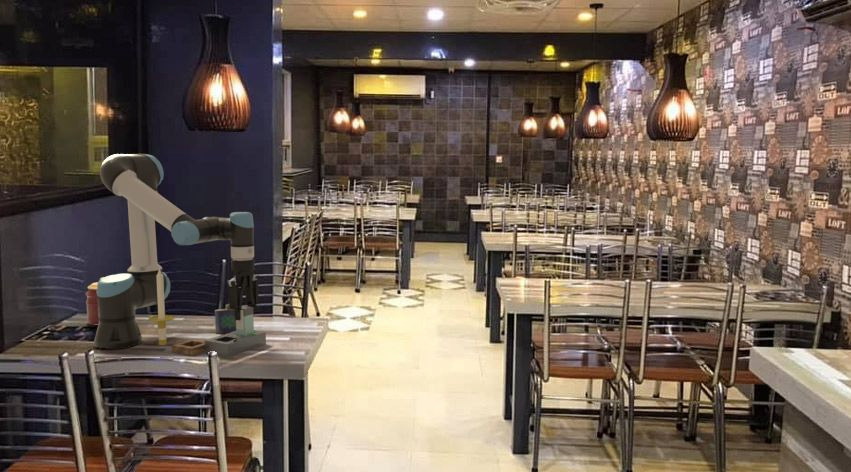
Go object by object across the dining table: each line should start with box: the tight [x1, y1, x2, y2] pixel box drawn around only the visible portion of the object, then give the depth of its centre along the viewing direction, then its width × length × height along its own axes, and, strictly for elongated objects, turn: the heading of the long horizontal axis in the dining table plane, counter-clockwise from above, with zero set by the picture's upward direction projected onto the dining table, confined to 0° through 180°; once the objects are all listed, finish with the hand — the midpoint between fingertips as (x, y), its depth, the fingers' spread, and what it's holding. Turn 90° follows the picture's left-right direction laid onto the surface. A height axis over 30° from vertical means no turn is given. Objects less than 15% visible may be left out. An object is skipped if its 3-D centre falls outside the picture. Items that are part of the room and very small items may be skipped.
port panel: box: [203, 329, 267, 358], centre depth 245 cm, size 10×18×5 cm, turn 151°
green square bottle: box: [236, 305, 255, 336], centre depth 248 cm, size 4×4×12 cm
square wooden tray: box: [171, 338, 205, 357], centre depth 243 cm, size 9×9×3 cm
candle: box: [148, 268, 176, 346], centre depth 250 cm, size 10×10×27 cm
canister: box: [85, 276, 104, 324], centre depth 285 cm, size 13×13×18 cm
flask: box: [214, 303, 236, 336], centre depth 268 cm, size 9×3×11 cm, turn 105°
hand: (244, 327), depth 248 cm, fingers closed on green square bottle, 4 cm apart
